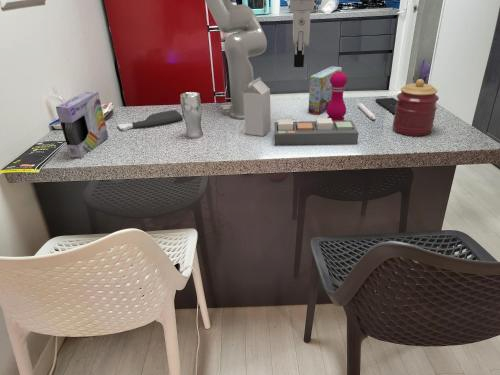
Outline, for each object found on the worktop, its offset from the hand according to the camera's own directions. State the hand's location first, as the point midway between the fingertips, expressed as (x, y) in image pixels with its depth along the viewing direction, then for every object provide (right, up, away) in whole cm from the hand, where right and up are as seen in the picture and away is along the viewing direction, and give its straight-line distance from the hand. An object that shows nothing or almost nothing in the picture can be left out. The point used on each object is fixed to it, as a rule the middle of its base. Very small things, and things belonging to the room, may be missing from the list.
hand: (298, 66), depth 125 cm
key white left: (-4, -22, +3) cm, 22 cm away
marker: (+30, -12, +23) cm, 40 cm away
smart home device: (+43, -8, +29) cm, 52 cm away
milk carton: (-13, -21, +11) cm, 27 cm away
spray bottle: (-56, -16, +25) cm, 63 cm away
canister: (+40, -21, +6) cm, 46 cm away
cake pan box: (-72, -27, +5) cm, 77 cm away
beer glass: (-36, -22, +11) cm, 44 cm away
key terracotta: (+2, -23, +3) cm, 23 cm away
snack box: (+15, -7, +33) cm, 37 cm away
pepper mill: (+16, -16, +16) cm, 28 cm away
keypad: (+6, -24, +3) cm, 25 cm away
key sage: (+15, -23, +2) cm, 27 cm away
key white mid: (+9, -22, +2) cm, 23 cm away
